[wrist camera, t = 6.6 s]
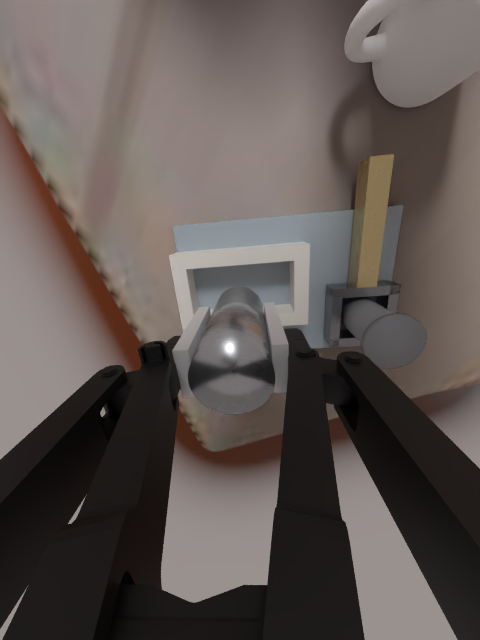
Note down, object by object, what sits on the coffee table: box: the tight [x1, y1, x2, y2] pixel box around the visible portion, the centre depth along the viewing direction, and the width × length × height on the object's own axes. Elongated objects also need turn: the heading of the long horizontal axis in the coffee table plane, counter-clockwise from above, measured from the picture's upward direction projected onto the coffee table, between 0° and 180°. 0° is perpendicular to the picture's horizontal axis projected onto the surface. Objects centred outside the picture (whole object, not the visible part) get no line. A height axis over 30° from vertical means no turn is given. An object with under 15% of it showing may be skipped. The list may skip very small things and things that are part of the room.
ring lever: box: [324, 154, 401, 347], centre depth 25 cm, size 18×7×2 cm, turn 5°
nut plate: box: [169, 205, 427, 369], centre depth 24 cm, size 16×24×10 cm, turn 95°
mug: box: [344, 0, 480, 108], centre depth 16 cm, size 12×8×10 cm
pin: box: [188, 287, 275, 415], centre depth 15 cm, size 4×4×10 cm
